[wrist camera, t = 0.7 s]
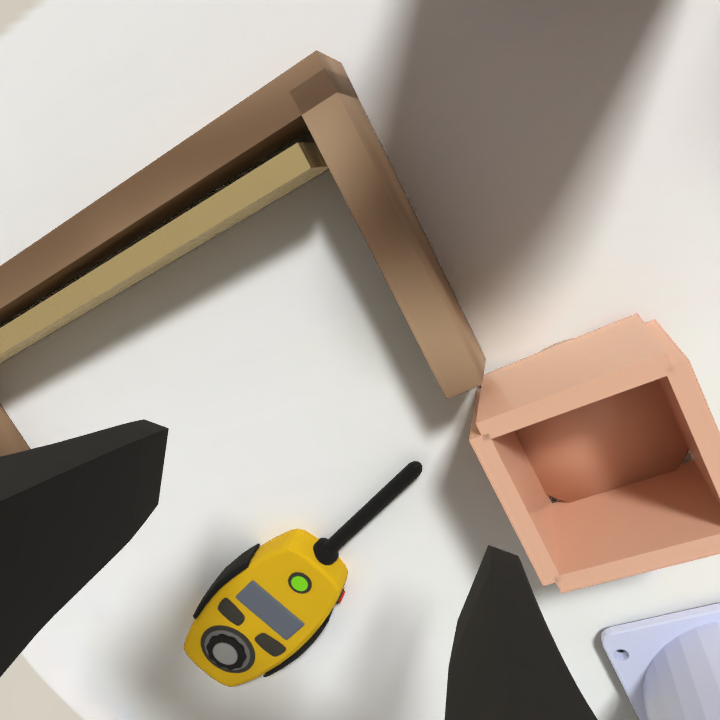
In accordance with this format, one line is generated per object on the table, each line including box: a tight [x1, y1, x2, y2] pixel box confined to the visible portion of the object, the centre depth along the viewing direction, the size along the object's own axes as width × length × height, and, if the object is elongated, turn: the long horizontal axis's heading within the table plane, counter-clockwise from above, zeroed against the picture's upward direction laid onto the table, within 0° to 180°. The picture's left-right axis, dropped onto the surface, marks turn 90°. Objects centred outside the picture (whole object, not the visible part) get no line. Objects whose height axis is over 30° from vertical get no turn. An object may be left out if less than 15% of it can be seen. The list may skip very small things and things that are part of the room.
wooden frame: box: [0, 50, 486, 457], centre depth 22 cm, size 11×21×2 cm, turn 118°
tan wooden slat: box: [0, 142, 329, 363], centre depth 22 cm, size 1×18×2 cm, turn 118°
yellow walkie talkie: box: [184, 461, 422, 687], centre depth 25 cm, size 5×2×15 cm
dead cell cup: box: [469, 313, 720, 593], centre depth 18 cm, size 6×6×4 cm
